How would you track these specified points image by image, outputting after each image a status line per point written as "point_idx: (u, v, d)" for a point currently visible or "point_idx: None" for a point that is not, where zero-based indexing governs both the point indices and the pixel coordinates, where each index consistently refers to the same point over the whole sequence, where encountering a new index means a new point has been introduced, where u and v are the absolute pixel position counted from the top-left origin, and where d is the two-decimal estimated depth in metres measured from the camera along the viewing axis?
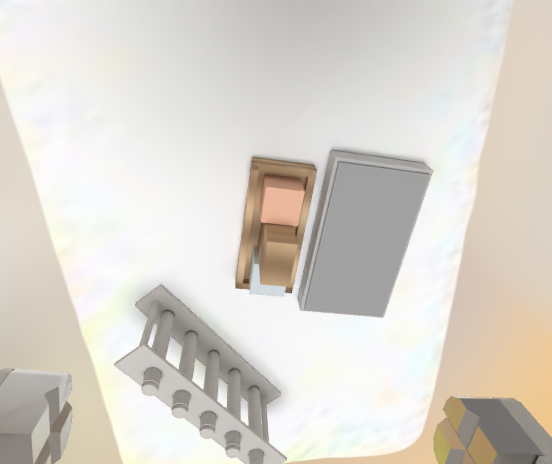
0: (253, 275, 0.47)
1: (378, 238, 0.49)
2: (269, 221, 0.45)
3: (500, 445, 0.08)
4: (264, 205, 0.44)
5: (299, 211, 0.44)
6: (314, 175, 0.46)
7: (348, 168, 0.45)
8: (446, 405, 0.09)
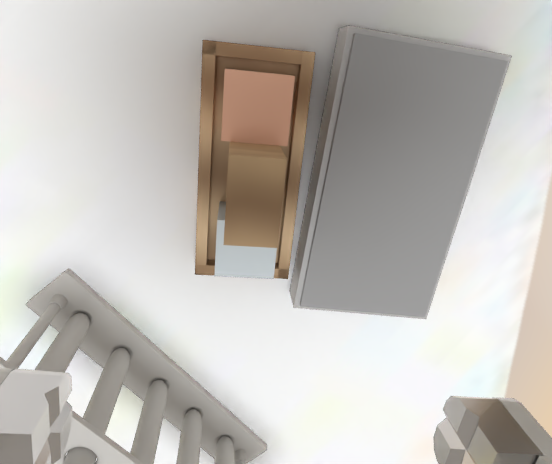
0: (217, 242, 0.27)
1: (420, 178, 0.29)
2: (236, 138, 0.25)
3: (500, 445, 0.08)
4: (224, 106, 0.24)
5: (288, 116, 0.25)
6: (311, 61, 0.27)
7: (371, 45, 0.26)
8: (446, 405, 0.09)
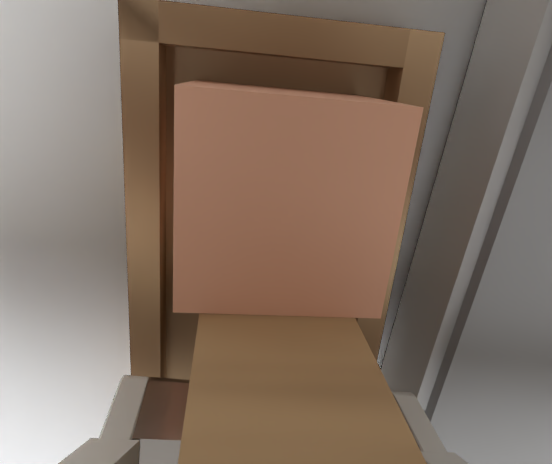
0: None
1: None
2: (221, 303, 0.08)
3: None
4: (179, 212, 0.07)
5: (389, 235, 0.08)
6: (432, 58, 0.10)
7: None
8: None
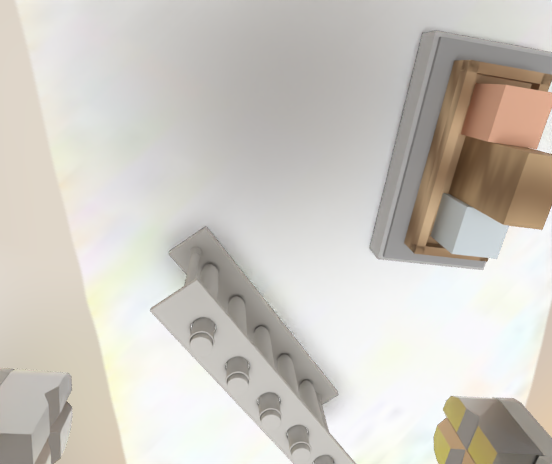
0: (462, 225, 0.33)
1: None
2: (499, 140, 0.31)
3: (500, 445, 0.08)
4: (497, 114, 0.30)
5: (543, 125, 0.31)
6: (548, 81, 0.33)
7: (453, 46, 0.34)
8: (446, 405, 0.09)
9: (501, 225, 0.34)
